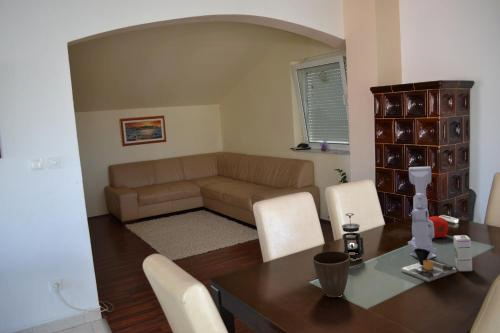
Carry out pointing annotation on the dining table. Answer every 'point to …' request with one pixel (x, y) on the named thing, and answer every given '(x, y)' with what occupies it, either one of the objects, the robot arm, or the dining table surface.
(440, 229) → the tomato
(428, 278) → the breaker panel
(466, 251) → the white segmented block tower
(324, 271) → the plant pot
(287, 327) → the dining table surface
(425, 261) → the yellow rounded piece
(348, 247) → the french press
